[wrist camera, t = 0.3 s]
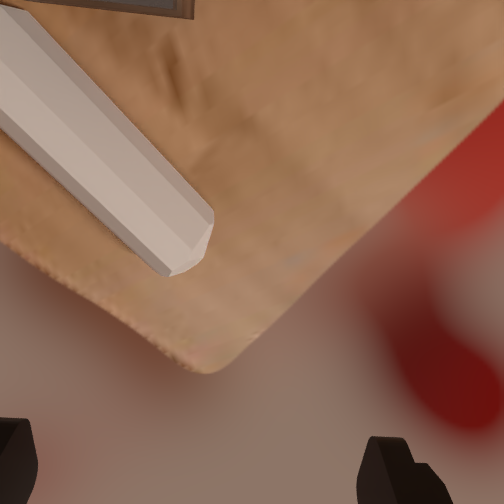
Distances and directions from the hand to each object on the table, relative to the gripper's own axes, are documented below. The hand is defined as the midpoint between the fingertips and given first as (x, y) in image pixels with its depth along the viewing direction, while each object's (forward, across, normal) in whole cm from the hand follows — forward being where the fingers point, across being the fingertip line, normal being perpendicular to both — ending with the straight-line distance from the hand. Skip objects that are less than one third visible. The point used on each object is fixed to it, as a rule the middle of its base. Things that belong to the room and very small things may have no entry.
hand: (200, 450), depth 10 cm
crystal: (+29, +11, +1) cm, 31 cm away
